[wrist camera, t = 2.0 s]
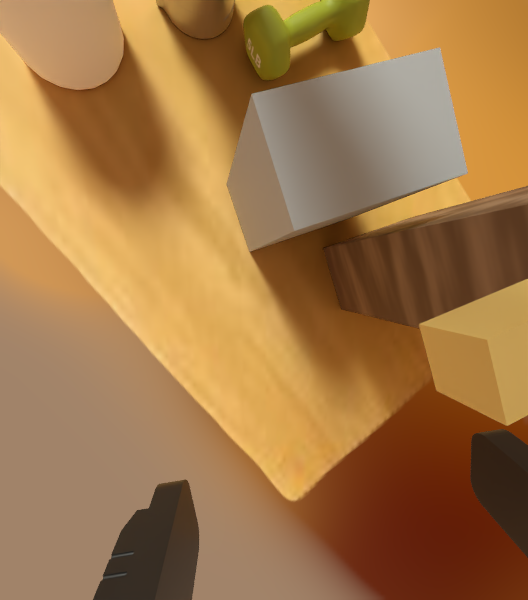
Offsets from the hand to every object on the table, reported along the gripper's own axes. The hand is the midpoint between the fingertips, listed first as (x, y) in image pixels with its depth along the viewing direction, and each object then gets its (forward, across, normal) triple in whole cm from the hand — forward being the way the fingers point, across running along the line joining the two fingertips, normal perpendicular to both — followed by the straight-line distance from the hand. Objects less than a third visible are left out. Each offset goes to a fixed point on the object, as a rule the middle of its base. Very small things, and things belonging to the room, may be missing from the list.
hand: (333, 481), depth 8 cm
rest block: (+40, -6, -10) cm, 42 cm away
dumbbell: (+43, -10, -32) cm, 55 cm away
